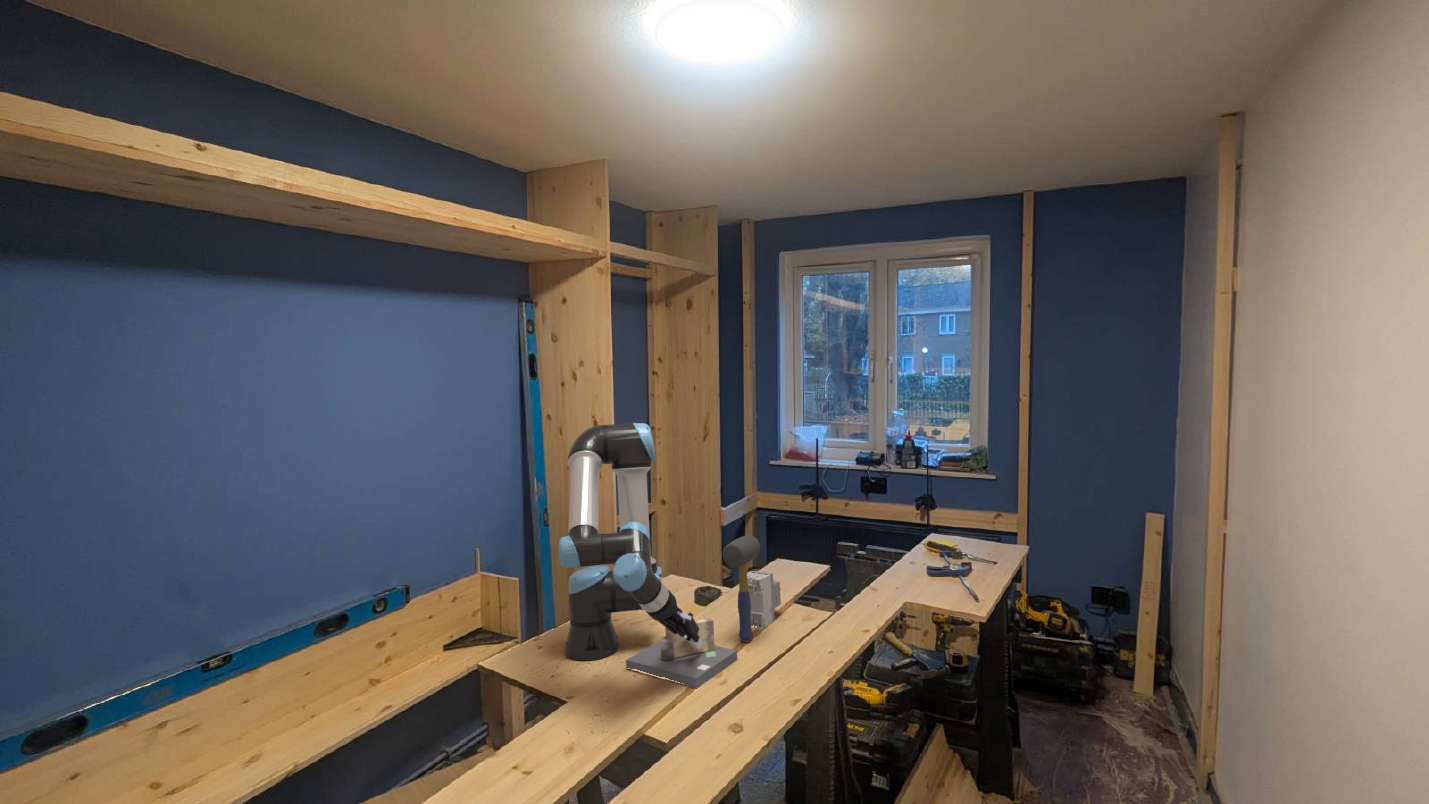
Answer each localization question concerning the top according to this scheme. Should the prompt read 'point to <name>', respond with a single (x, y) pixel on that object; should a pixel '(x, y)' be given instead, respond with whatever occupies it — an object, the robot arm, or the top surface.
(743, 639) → the rubber mallet
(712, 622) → the wooden block
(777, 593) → the circuit breaker
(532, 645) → the top surface
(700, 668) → the board
